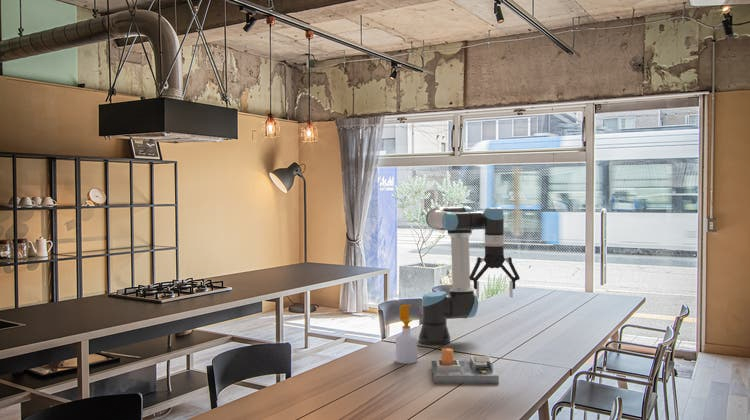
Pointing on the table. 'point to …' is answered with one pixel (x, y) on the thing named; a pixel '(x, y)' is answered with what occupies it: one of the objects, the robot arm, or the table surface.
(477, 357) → the block
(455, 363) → the breaker panel
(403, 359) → the soap bottle
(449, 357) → the cap
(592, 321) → the table surface
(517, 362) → the table surface
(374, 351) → the table surface
